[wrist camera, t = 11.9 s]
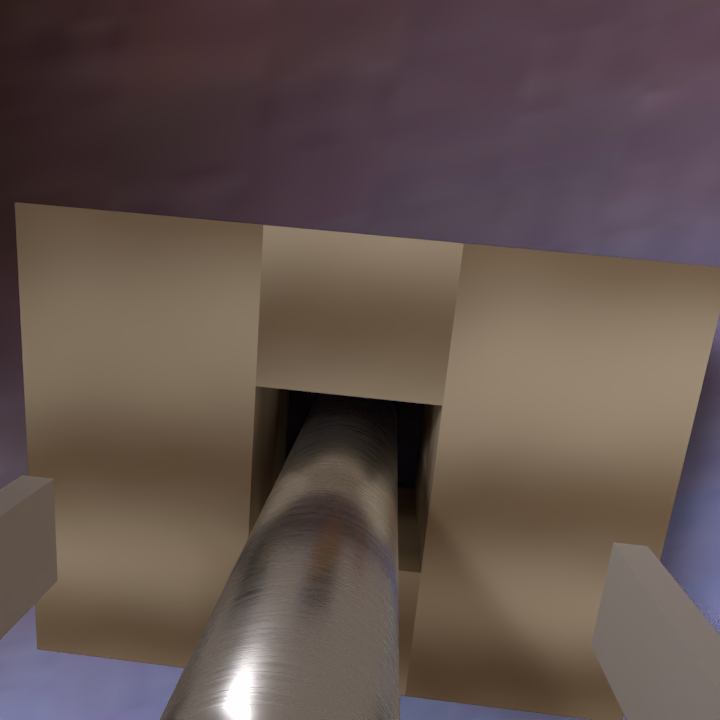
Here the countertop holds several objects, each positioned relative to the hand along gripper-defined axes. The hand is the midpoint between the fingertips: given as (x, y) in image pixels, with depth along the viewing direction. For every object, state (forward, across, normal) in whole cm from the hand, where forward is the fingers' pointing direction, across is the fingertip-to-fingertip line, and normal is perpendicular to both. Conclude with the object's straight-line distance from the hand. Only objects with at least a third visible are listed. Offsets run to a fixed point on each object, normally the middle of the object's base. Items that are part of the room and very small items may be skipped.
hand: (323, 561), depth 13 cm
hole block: (+10, 0, 0) cm, 10 cm away
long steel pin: (+10, 0, 0) cm, 10 cm away
